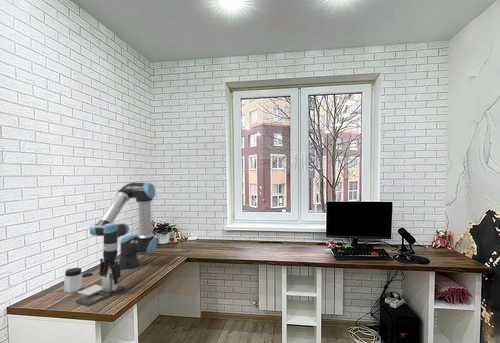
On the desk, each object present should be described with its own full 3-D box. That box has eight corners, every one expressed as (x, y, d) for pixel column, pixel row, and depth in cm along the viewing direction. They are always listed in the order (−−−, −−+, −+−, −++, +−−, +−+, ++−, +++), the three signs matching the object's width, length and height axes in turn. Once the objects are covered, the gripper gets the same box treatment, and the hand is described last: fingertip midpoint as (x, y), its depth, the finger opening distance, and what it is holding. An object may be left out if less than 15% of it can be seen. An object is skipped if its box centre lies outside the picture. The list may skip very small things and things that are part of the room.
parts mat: (95, 285, 168) (95, 284, 168) (106, 287, 164) (106, 287, 164) (76, 292, 157) (76, 292, 157) (88, 295, 153) (88, 294, 153)
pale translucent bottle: (110, 289, 162) (110, 271, 162) (117, 291, 159) (117, 272, 160) (101, 293, 156) (101, 274, 156) (108, 295, 154) (109, 276, 154)
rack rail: (113, 286, 166) (113, 284, 166) (125, 289, 162) (125, 287, 162) (75, 303, 144) (75, 300, 144) (88, 306, 140) (88, 304, 140)
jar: (69, 287, 164) (69, 267, 165) (83, 286, 166) (84, 267, 166) (61, 293, 155) (62, 272, 156) (77, 292, 157) (77, 272, 157)
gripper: (92, 249, 159) (91, 288, 158) (117, 253, 151) (116, 294, 151) (103, 246, 166) (102, 283, 165) (128, 250, 158) (127, 288, 158)
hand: (109, 288), depth 158 cm, fingers open, 7 cm apart
